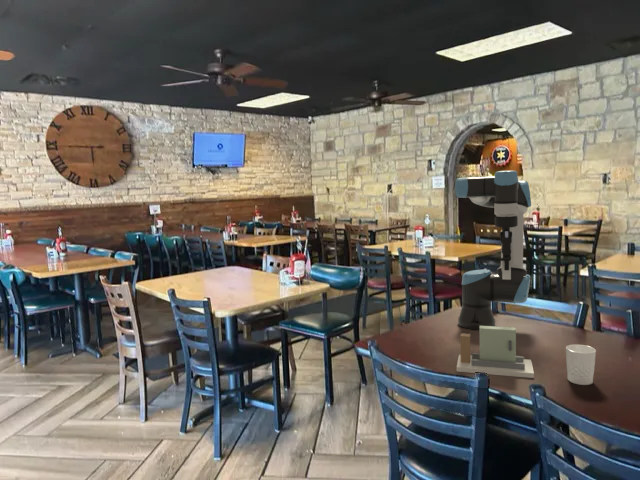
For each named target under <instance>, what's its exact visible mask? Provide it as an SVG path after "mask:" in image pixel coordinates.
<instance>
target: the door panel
mask: <svg viewBox="0 0 640 480" xmlns="http://www.w3.org/2000/svg"><path fill="white" fill-rule="evenodd" d="M516 329H517V328H516V327H512V326H511V327H510V326H496V325H495V326H480V328H479V329H478V331H479V333H478V334H479V353H480V360H492V361H505V362H516V356H517V330H516Z"/></svg>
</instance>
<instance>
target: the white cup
mask: <svg viewBox="0 0 640 480" xmlns="http://www.w3.org/2000/svg"><path fill="white" fill-rule="evenodd" d="M596 352H597V350H596V349H595V348H594V347H592V346H589V345H584V344H578V343H577V344H569V345H566V346H565V357H566V358H565V359H566V361H565V362H566V371H567V376H566V377H567V380H568V381H569V382H570V383H573V384H576V385H580V386H589V385H592V384H594V383H593V382H594V375H595V374H594V373H595V366H596Z"/></svg>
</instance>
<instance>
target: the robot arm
mask: <svg viewBox="0 0 640 480" xmlns="http://www.w3.org/2000/svg"><path fill="white" fill-rule="evenodd" d="M454 183H455V184H454V193H455V197H457V198H459V199H460V198H461V199H462V198H463V199H465V198H467V199H468V198H469V200H470V201H471V202H472V203H473V204H475V205H478V206H481V207H485V208H492V209H493V208H494V213H493V214H494V215H495V217H494V227H496V228H501V231H499V236H500V237H499V238H500V244H501V246H500V266H499V267H498V268H497V269H496V273H492V270H490V269H486V268H485V269H483V268H482V269H473V270H469V271H466V272H464V273H463V274H462V277H461V305H462V306H461V309H460V313H459V316H458V318H457V325H458V326H459V327H461V328H465V329H469V330H479V328H480V326H495V327H496V319H495V317H494V312H493V310H492V304H491V303H493V302H494V303H511V304H524V303H526V301H528V297H529V291H530V283H531V275H530V274H527V271H528V270H527V269H526V268H525V267H524V222H525V221H524V219H525V215H524V214H526V213H527V212H528V208H531V206H532V200H531V192H530V186H529V185H530V184H529V182H528V181H526V180H519V177H518V172H517V170H499V171H495V172H494V176H473V177H471V176H470V177H467V176H466V177H465V176H464V177H458V178H456V180H455V182H454Z"/></svg>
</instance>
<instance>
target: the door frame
mask: <svg viewBox="0 0 640 480" xmlns="http://www.w3.org/2000/svg"><path fill="white" fill-rule="evenodd" d="M459 339H460V341H459V343H460V354H458V358H457V363H456V372H457V373H467V374H468V373H470V374H476V373H475V372H485V373H487V374H486V375H494V376H502V377H504V376H507V377H518V378H528V379H529V378H530V379H532V378H533V379H534V378H535V372H534V368H533V362H532V359H528V358H527V359H525V357H524V356H523V355H522V356H521V355H516V362H505V361H492V360H480V352H471V333H464V332H463V333H460V338H459ZM471 354H472V355H471Z"/></svg>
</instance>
